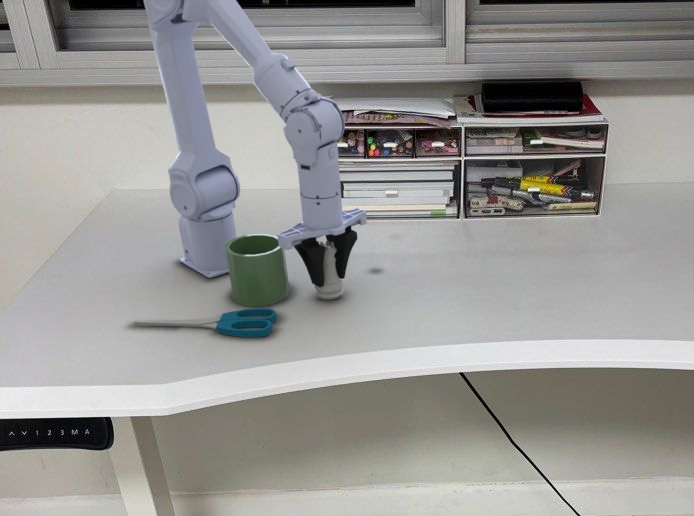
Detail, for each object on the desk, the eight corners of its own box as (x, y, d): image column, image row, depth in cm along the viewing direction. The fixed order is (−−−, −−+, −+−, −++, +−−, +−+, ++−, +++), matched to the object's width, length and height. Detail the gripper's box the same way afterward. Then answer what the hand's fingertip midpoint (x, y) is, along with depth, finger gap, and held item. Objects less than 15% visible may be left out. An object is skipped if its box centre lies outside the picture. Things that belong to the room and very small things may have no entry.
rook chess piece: (349, 289, 121) (345, 240, 117) (336, 302, 118) (332, 252, 113) (322, 285, 123) (318, 236, 118) (309, 297, 119) (304, 248, 115)
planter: (222, 293, 121) (214, 244, 117) (268, 277, 126) (262, 229, 122) (253, 311, 116) (245, 261, 112) (300, 294, 121) (294, 244, 117)
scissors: (269, 330, 109) (124, 331, 109) (270, 336, 110) (126, 337, 110) (277, 308, 115) (140, 309, 115) (278, 313, 115) (142, 315, 115)
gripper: (294, 212, 105) (304, 304, 112) (378, 187, 113) (382, 274, 121) (264, 199, 109) (276, 289, 117) (347, 175, 117) (353, 260, 125)
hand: (328, 280), depth 119 cm, fingers closed on rook chess piece, 3 cm apart
